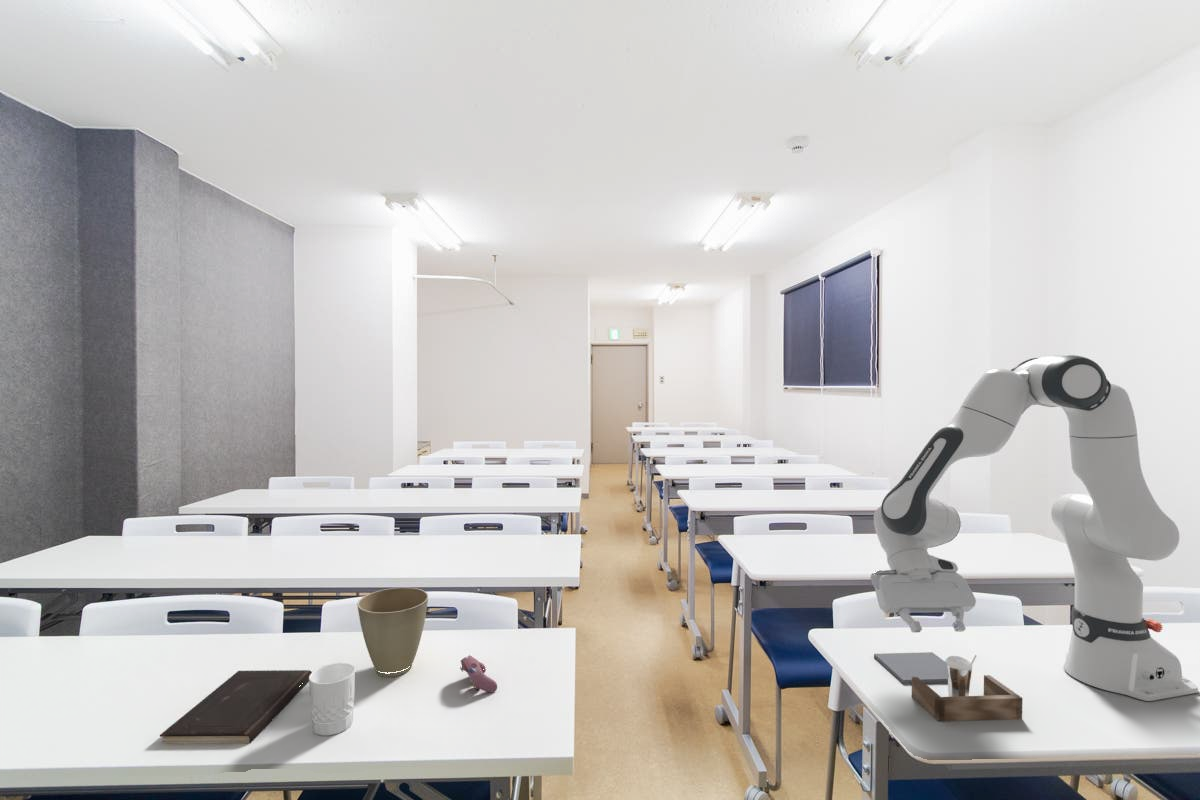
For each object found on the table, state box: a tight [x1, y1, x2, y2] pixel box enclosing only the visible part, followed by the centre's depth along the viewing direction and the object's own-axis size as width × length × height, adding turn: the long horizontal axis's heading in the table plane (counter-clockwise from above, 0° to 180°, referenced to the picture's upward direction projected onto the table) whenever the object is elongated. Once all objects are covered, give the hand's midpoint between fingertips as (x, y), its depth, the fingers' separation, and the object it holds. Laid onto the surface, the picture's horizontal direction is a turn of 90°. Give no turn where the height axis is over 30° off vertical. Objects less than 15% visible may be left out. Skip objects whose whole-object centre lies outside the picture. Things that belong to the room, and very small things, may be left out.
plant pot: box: [356, 586, 429, 678], centre depth 130 cm, size 15×15×16 cm
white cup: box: [308, 662, 356, 737], centre depth 109 cm, size 8×8×10 cm
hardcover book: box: [159, 669, 313, 744], centre depth 115 cm, size 16×23×2 cm
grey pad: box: [873, 651, 948, 685], centre depth 130 cm, size 14×12×1 cm
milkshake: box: [945, 654, 977, 697], centre depth 116 cm, size 5×5×10 cm
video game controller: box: [459, 654, 498, 693], centre depth 124 cm, size 10×5×7 cm, turn 28°
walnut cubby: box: [911, 674, 1023, 722], centre depth 115 cm, size 16×9×4 cm, turn 93°
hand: (939, 631), depth 123 cm, fingers open, 8 cm apart
